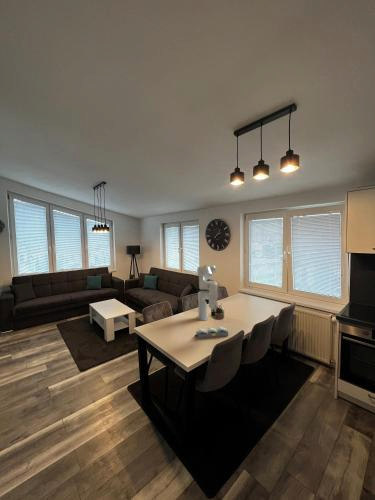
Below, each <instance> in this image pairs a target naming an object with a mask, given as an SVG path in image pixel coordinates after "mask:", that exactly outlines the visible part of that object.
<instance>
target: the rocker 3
mask: <svg viewBox="0 0 375 500" xmlns="http://www.w3.org/2000/svg"><path fill="white" fill-rule="evenodd" d="M216 329H220V330H224V331H228V329H227V328H225V327H223V326H217V328H216Z"/></svg>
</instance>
